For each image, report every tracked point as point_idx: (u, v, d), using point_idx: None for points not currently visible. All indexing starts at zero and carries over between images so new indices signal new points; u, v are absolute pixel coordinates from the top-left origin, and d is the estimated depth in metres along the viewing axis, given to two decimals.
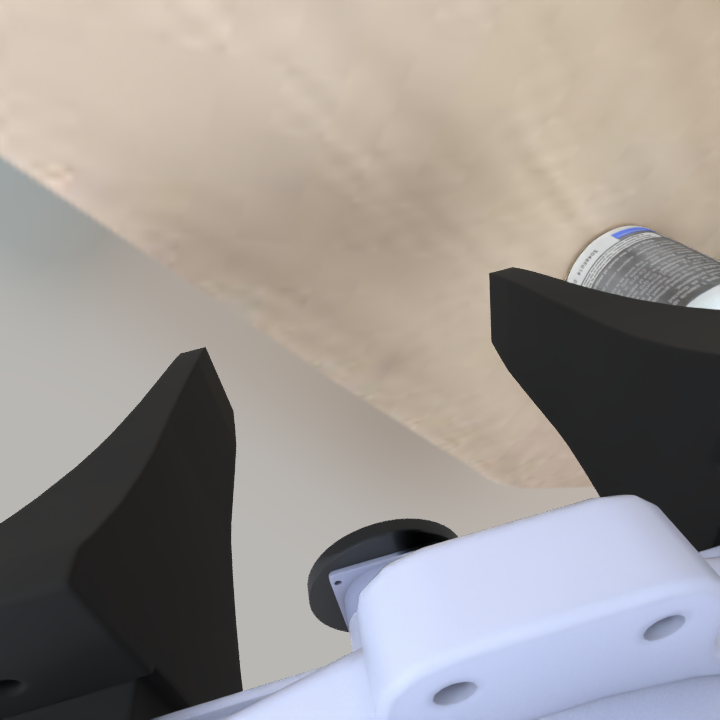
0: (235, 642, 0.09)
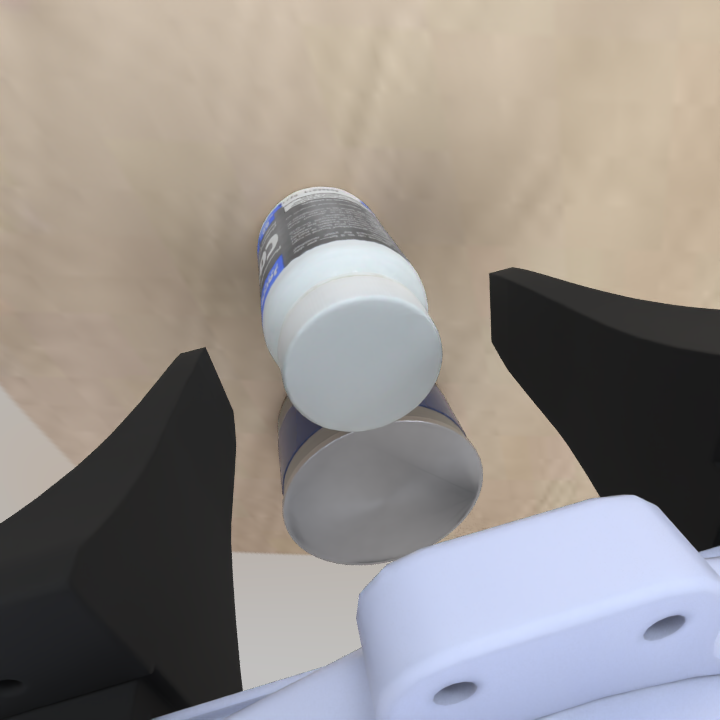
0: (235, 642, 0.09)
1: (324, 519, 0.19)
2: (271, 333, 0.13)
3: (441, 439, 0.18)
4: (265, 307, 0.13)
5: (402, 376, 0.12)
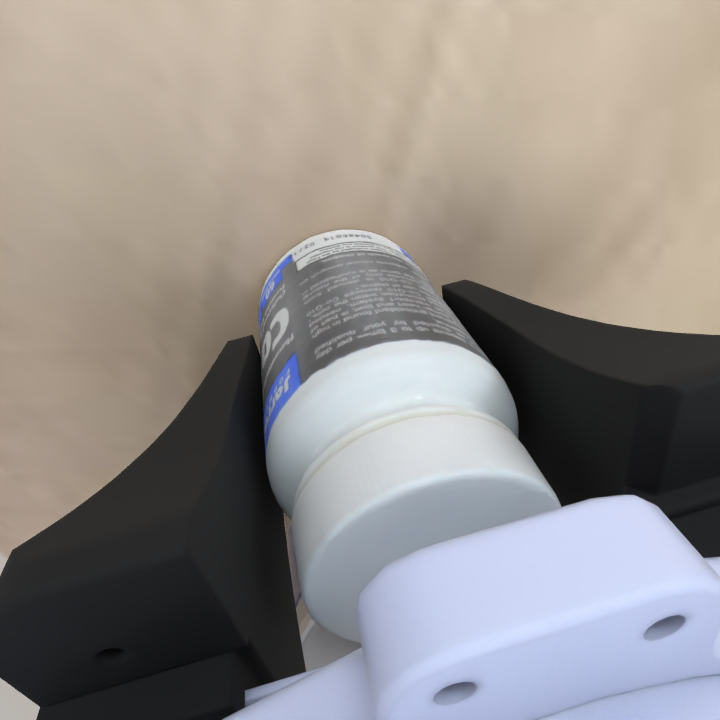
0: (297, 624, 0.09)
1: None
2: (279, 483, 0.08)
3: None
4: (270, 442, 0.08)
5: None
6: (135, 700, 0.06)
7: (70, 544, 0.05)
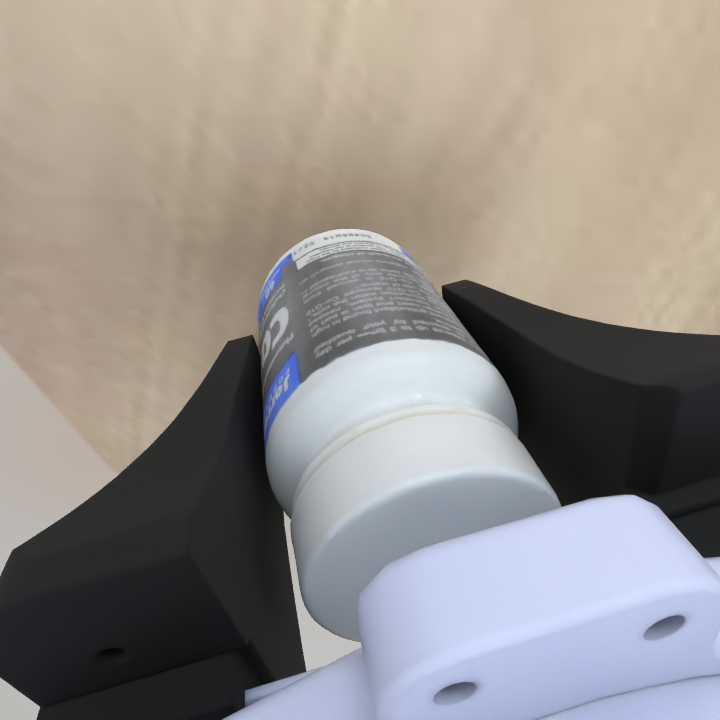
0: (297, 624, 0.09)
1: None
2: (279, 483, 0.08)
3: None
4: (270, 442, 0.08)
5: None
6: (134, 699, 0.06)
7: (70, 545, 0.05)
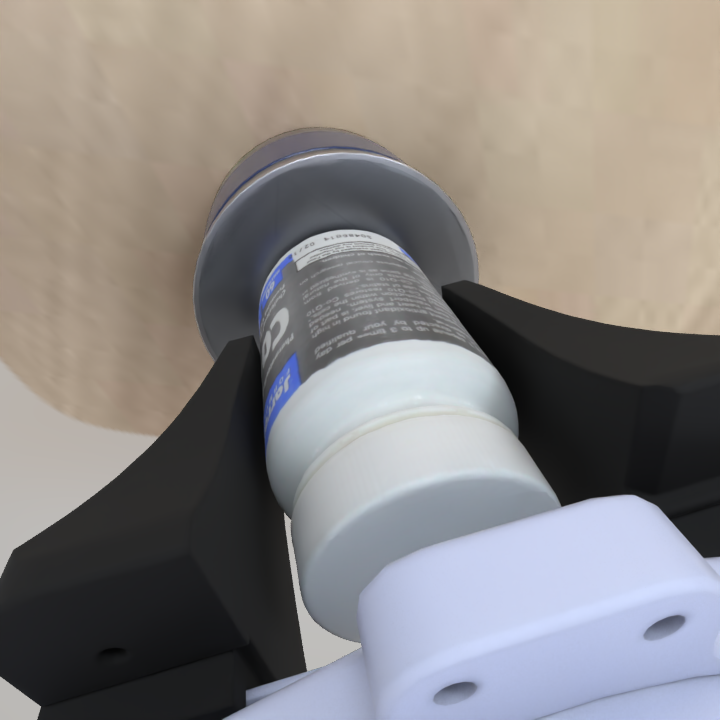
0: (297, 624, 0.09)
1: (256, 329, 0.14)
2: (279, 483, 0.08)
3: (418, 198, 0.13)
4: (270, 442, 0.08)
5: None
6: (136, 700, 0.05)
7: (71, 544, 0.05)
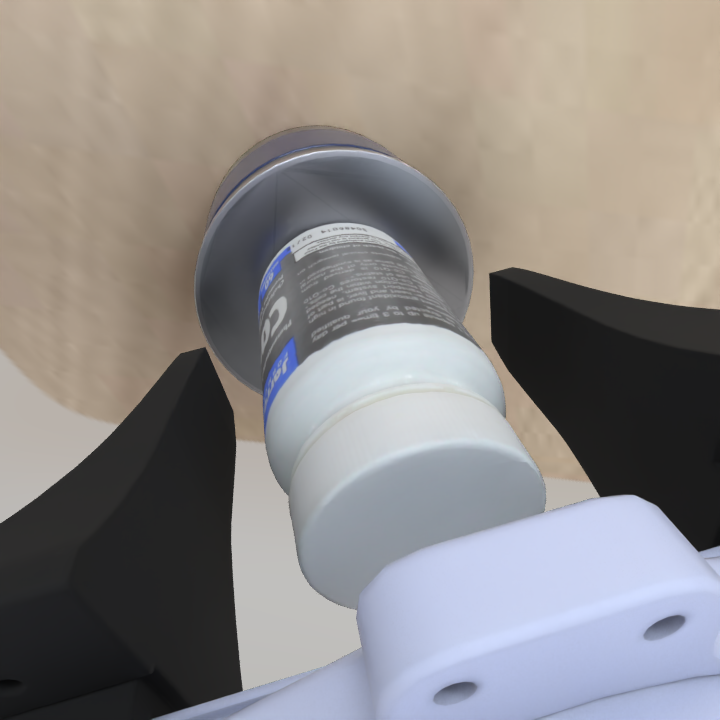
0: (235, 642, 0.09)
1: (255, 322, 0.14)
2: (278, 460, 0.09)
3: (414, 194, 0.13)
4: (269, 421, 0.09)
5: None
6: None
7: None
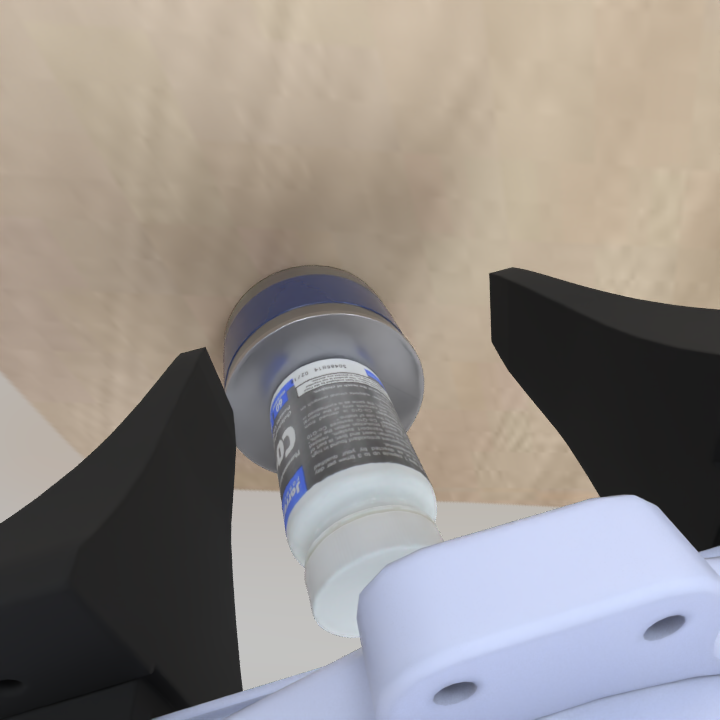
0: (235, 642, 0.09)
1: (267, 424, 0.20)
2: (296, 546, 0.14)
3: (378, 336, 0.19)
4: (289, 523, 0.14)
5: None
6: None
7: None
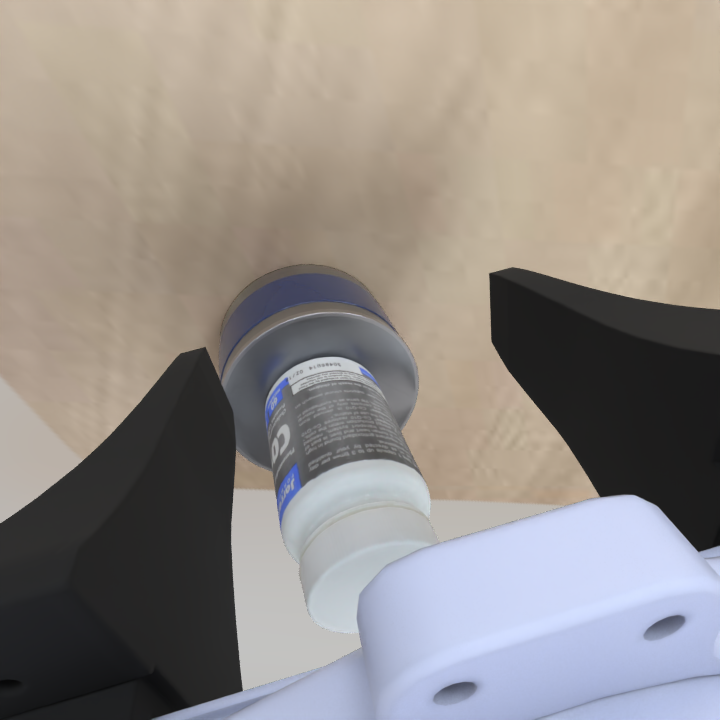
0: (235, 642, 0.09)
1: (262, 422, 0.20)
2: (290, 543, 0.14)
3: (373, 334, 0.19)
4: (284, 520, 0.14)
5: None
6: None
7: None
